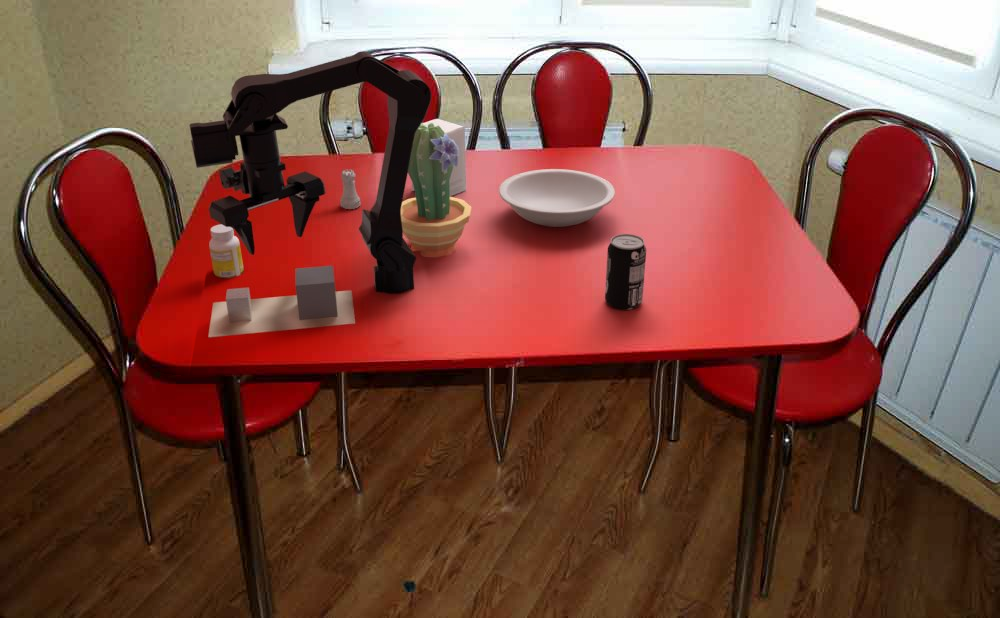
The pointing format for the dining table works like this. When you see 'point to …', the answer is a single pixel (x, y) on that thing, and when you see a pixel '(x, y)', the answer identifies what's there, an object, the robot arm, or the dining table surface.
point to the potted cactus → (433, 195)
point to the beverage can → (625, 271)
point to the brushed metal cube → (239, 305)
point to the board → (277, 316)
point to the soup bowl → (556, 196)
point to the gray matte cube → (316, 292)
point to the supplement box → (459, 172)
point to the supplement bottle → (225, 252)
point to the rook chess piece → (349, 191)
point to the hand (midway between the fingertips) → (276, 245)
